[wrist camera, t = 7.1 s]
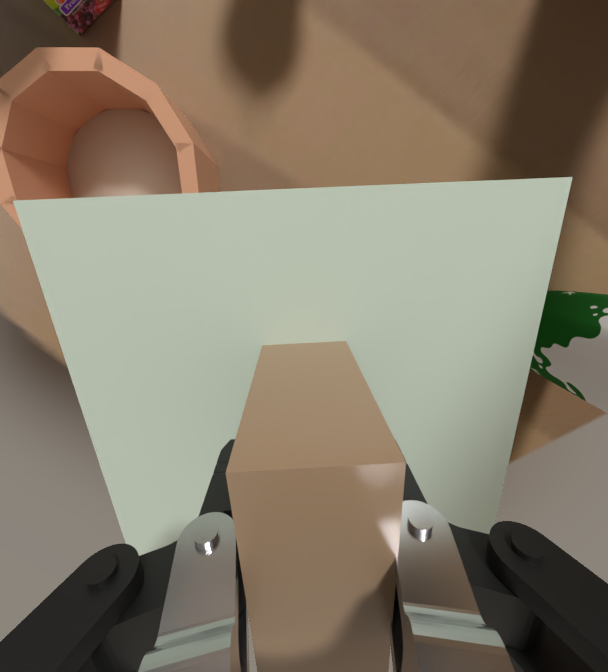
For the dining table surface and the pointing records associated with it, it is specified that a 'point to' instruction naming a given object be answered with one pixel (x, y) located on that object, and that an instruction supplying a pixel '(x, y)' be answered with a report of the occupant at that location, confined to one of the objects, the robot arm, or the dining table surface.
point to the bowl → (93, 132)
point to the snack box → (78, 12)
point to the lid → (302, 375)
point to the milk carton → (574, 344)
